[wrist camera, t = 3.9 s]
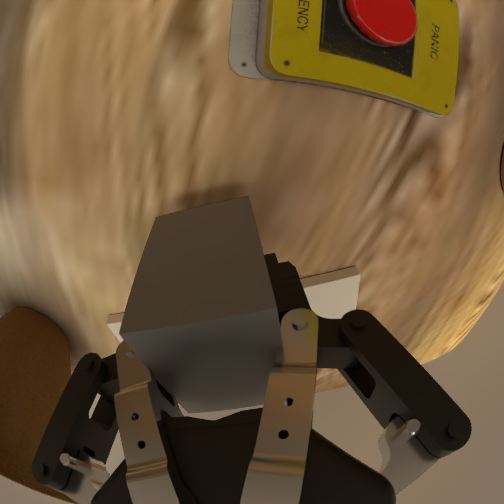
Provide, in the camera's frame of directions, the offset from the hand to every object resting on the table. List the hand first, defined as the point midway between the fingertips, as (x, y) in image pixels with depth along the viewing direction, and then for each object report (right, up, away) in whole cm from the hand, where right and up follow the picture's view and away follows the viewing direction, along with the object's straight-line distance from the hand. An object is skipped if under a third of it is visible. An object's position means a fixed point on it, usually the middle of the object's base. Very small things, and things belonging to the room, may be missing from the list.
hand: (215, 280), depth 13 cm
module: (0, +1, +2) cm, 2 cm away
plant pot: (-20, -6, +8) cm, 22 cm away
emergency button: (+8, +15, -2) cm, 17 cm away
